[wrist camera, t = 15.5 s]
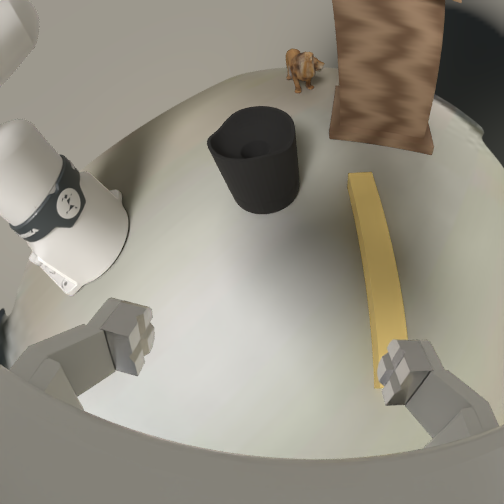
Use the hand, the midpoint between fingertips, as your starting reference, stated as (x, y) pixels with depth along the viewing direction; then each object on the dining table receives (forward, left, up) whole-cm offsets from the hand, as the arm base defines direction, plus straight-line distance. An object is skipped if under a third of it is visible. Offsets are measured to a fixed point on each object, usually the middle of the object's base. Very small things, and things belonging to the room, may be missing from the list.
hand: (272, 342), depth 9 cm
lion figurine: (-9, +49, -19) cm, 53 cm away
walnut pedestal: (+6, +39, -19) cm, 44 cm away
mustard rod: (+6, +12, -20) cm, 24 cm away
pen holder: (-9, +21, -19) cm, 30 cm away
